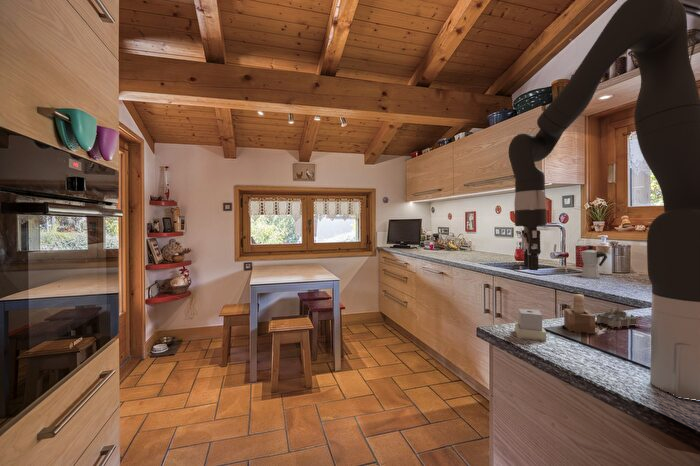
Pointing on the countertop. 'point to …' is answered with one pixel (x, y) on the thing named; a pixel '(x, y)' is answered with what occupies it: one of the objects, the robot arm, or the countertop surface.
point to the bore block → (579, 321)
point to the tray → (530, 333)
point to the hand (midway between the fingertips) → (530, 268)
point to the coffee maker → (591, 262)
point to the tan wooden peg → (578, 304)
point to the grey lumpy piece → (616, 318)
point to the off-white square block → (530, 319)
